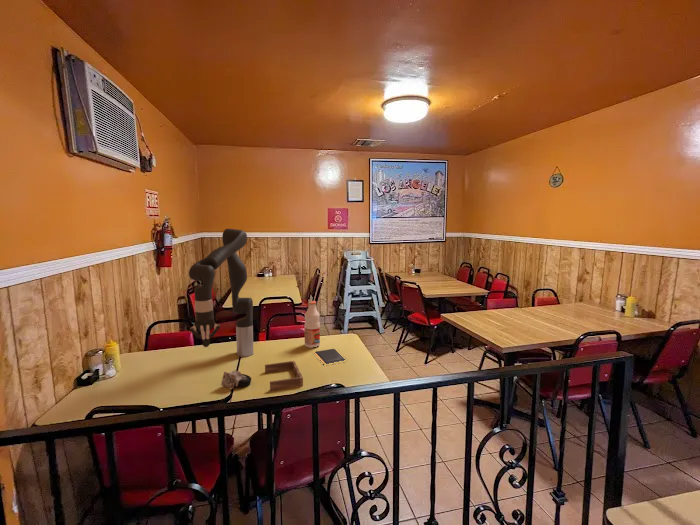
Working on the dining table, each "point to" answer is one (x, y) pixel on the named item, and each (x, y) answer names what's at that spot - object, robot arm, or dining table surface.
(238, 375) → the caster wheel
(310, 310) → the fruit juice
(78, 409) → the dining table surface
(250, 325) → the robot arm
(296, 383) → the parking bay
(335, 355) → the wallet
